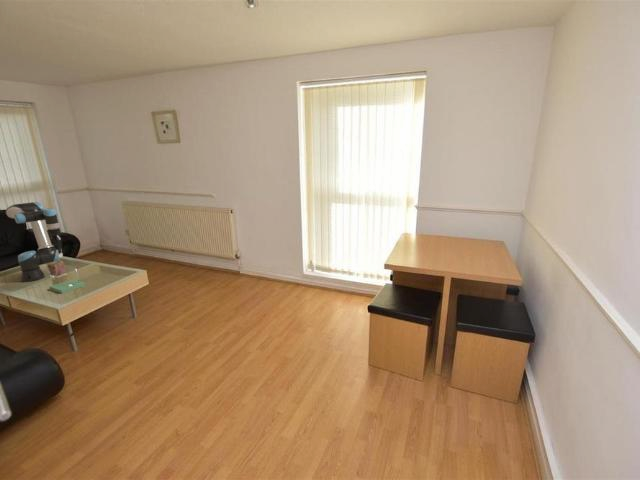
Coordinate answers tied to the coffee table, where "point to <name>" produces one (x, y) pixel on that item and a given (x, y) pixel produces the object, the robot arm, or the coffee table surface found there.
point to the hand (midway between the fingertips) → (60, 256)
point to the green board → (64, 286)
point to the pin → (76, 272)
